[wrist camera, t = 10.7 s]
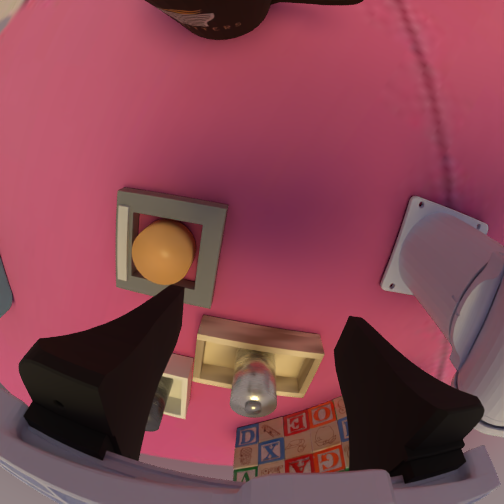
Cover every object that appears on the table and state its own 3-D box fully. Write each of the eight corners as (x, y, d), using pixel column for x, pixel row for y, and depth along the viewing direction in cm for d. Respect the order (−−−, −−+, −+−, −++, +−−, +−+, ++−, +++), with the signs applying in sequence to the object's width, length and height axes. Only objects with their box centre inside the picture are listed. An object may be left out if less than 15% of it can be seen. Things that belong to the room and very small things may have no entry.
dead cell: (173, 369, 26) (156, 421, 20) (173, 390, 28) (158, 438, 22) (141, 361, 26) (119, 410, 20) (143, 382, 27) (124, 428, 21)
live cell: (273, 336, 24) (275, 394, 18) (276, 364, 25) (277, 421, 19) (233, 338, 24) (225, 396, 18) (239, 366, 25) (233, 422, 19)
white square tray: (193, 358, 26) (187, 378, 24) (189, 400, 29) (185, 419, 26) (125, 340, 26) (115, 359, 23) (130, 384, 28) (122, 402, 26)
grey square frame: (228, 204, 20) (225, 210, 19) (212, 300, 23) (209, 310, 22) (124, 187, 20) (115, 191, 19) (122, 280, 23) (114, 288, 22)
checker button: (199, 224, 21) (193, 233, 19) (192, 277, 23) (187, 290, 21) (143, 214, 21) (132, 222, 19) (140, 266, 22) (131, 277, 20)
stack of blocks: (259, 447, 33) (256, 525, 21) (235, 426, 31) (227, 514, 19) (414, 393, 28) (446, 472, 17) (409, 365, 26) (450, 455, 15)
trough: (319, 334, 24) (324, 354, 22) (300, 378, 27) (302, 397, 24) (203, 314, 24) (197, 333, 22) (197, 361, 26) (192, 381, 24)
